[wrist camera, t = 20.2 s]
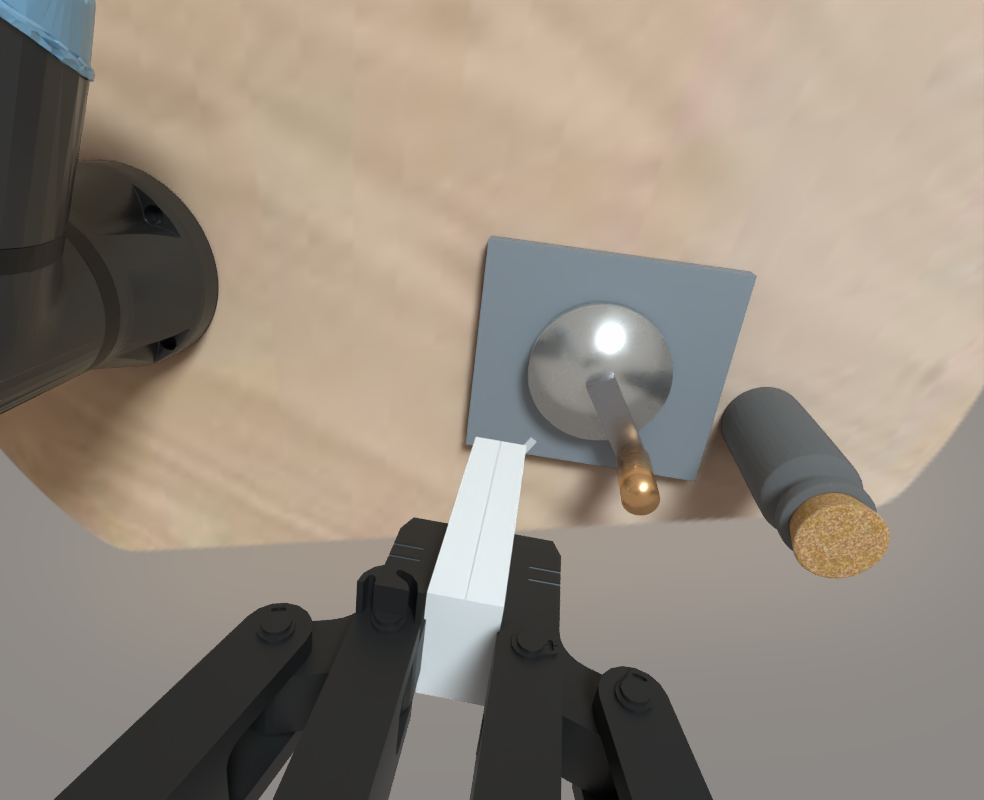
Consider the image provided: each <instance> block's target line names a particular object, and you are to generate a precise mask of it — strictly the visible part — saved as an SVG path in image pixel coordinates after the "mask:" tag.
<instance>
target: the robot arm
mask: <svg viewBox="0 0 984 800" xmlns="http://www.w3.org/2000/svg"><path fill="white" fill-rule="evenodd" d="M95 10H96V5H95V0H0V414H2V413H4V412H6V411H8V410H10V409H12V408H14V407H16V406H18V405H20V404H22V403H24V402H26V401H28V400H30V399H32V398H34V397H36V396H38V395H40V394H42V393H44V392H46V391H48V390H50V389H52V388H54V387H56V386H58V385H60V384H62V383H64V382H66V381H68V380H70V379H72V378H74V377H76V376H78V375H80V374H82V373H84V372H86V371H88V370H90V369H103V368H118V367H134V366H144V365H150V364H153V363H157V362H160V361H163V360H165V359H168V358H170V357H172V356H173V355H175V354H177V353H179V352H181V351H183V350H184V349H186V348H188V347H189V346H191V345H192V344H193V343H195V342H196V341H197V340H198V339H199V338H200V337H201V335H202V334H203V333H204V332H205V330H206V329H207V327H208V325H209V323H210V321H211V319H212V317H213V314H214V311H215V307H216V303H217V296H218V277H217V270H216V264H215V260H214V256H213V253H212V250H211V247H210V245H209V242H208V240H207V238H206V236H205V234H204V232H203V230H202V228H201V226H200V225H199V223H198V221H197V220H196V218H195V217H194V215H193V214H192V213H191V211H190V210H189V209H188V208H187V206H186V205H185V204H184V203H183V202H182V201H181V200H180V199H179V198H178V197H177V196H176V195H175V194H174V193H173V192H172V191H171V190H170V189H169V188H168V187H166V186H165V185H164V184H162V183H161V182H160V181H158V180H157V179H155V178H154V177H152V176H150V175H149V174H147V173H145V172H143V171H141V170H139V169H137V168H134V167H132V166H129V165H126V164H122V163H119V162H114V161H106V160H86V161H78V155H79V149H80V142H81V136H82V129H83V122H84V116H85V109H86V103H87V96H88V90H89V83H90V81H92V82H94V77H95V74H94V70H93V68H92V67H91V55H92V44H93V33H94V21H95ZM526 446H527V445H521V444H515V443H509V442H503V441H498V440H492V439H486V438H480V437H476V438H475V441H474V444H473V447H472V450H471V454H470V457H469V460H468V463H467V466H466V470H465V473H464V476H463V479H462V482H461V486H460V489H459V492H458V495H457V498H456V501H455V505H454V508H453V511H452V514H451V517H450V521H449V524H447V523H442V522H436V521H431V520H425V519H420V518H413V519H411V520H410V521H409V522H408V523H406V524H405V525H404V526H403V527H401V528H400V531H399V533H398V535H397V538H396V540H395V542H394V545H393V547H392V549H391V551H390V555H389V557H388V558H387V561H386V563H385V565H382V566H377V567H374V568H372V569H370V570H368V571H366V572H365V573H363V575H362V576H361V577H360V578H359V580H358V581H357V597H356V613H354V614H352V615H349V616H347V617H344V618H339V619H333V620H322V621H312V619H311V617H310V615H309V614H308V612H307V611H306V610H304V609H302V608H301V607H300V606H297V605H293V604H288V603H277V604H271V605H267V606H265V607H262V608H259V609H257V610H256V611H254V612H253V613H252V614H250V615H249V616H247V617H246V618H245V619H244V620H243V621H242V622H241V623H240V624H239V625H238V626H237V627H236V628H235V629H234V630H233V631H232V632H231V633H229V635H227V636H226V637H225V638H224V639H223V640H222V641H221V642H220V643H219V644H218V645H217V646H216V647H215V648H214V649H213V650H211V651H210V653H208V654H207V655H206V656H205V657H204V658H203V659H202V660H201V661H200V662H199V663H198V664H197V665H196V666H195V667H194V668H192V669H191V670H190V671H189V672H188V673H187V674H186V675H185V676H184V677H183V678H182V679H181V680H180V681H179V682H178V683H177V684H176V685H175V686H173V688H171V689H170V690H169V691H168V692H167V693H166V694H165V695H164V696H163V697H162V698H161V699H160V700H159V701H158V702H156V704H154V705H153V706H152V707H151V708H150V709H149V710H148V711H147V712H146V713H145V714H144V715H143V716H142V717H141V718H140V719H139V720H137V721H136V722H135V723H134V724H133V725H132V726H131V727H130V728H129V729H128V730H127V731H126V732H125V733H124V734H123V735H122V736H121V737H120V738H118V739H117V740H116V741H115V742H114V743H113V744H112V745H111V746H110V747H109V748H108V749H107V750H106V751H105V752H104V753H103V754H101V755H100V756H99V757H98V758H97V759H96V760H95V761H94V762H93V763H92V764H91V765H90V766H89V767H88V768H87V769H86V770H85V771H84V772H82V773H81V774H80V775H79V776H78V777H77V778H76V779H75V780H74V781H73V782H72V783H71V784H70V785H69V786H68V787H67V788H66V789H64V790H63V791H62V792H61V793H60V794H59V795H58V796H57V797H56V798H55V799H54V800H258V799H259V798H260V797H261V795H262V794H263V793H264V791H265V790H266V789H267V787H268V786H269V784H270V783H271V782H272V780H273V779H274V778H275V776H276V775H277V774H278V772H279V771H280V770H281V768H282V767H283V766H284V764H285V763H286V761H287V760H288V759H289V757H290V756H291V755H292V753H293V752H294V753H293V755H292V757H291V760H290V762H289V764H288V766H287V769H286V771H285V773H284V776H283V778H282V780H281V782H280V784H279V787H278V789H277V791H276V793H275V796H274V798H273V800H388V798H389V794H390V791H391V787H392V783H393V780H394V776H395V772H396V768H397V765H398V761H399V757H400V754H401V750H402V746H403V743H404V739H405V735H406V732H407V728H408V724H409V721H410V717H411V708H412V699H413V696H414V692H415V688H416V692H417V693H422V694H427V695H432V696H437V697H442V698H447V699H452V700H457V701H462V702H467V703H473V704H477V705H483V706H485V707H484V714H483V719H482V724H481V730H480V735H479V741H478V746H477V752H476V755H477V756H476V762H475V769H474V775H473V782H472V788H471V795H470V800H561V777H562V778H564V779H566V780H567V781H569V782H571V783H572V789H573V793H574V797H575V800H713V799H712V796H711V794H710V792H709V790H708V788H707V785H706V783H705V781H704V778H703V776H702V774H701V771H700V769H699V767H698V764H697V762H696V760H695V758H694V755H693V753H692V751H691V748H690V746H689V744H688V742H687V739H686V737H685V735H684V733H683V730H682V728H681V726H680V723H679V721H678V719H677V716H676V714H675V712H674V710H673V707H672V705H671V703H670V700H669V698H668V696H667V694H666V693H665V691H664V690H663V688H662V686H661V685H660V684H659V683H658V682H657V681H656V680H655V679H653V678H652V677H651V676H650V675H649V674H647V673H644V672H642V671H640V670H638V669H636V668H631V667H624V666H621V667H616V668H611V669H610V670H608V671H607V672H605V673H604V674H603V675H602V674H600V673H598V672H595V671H593V670H591V669H589V668H587V667H586V666H584V665H582V664H581V663H579V662H577V661H576V660H575V659H574V658H573V657H572V656H570V655H569V653H568V652H567V651H566V650H565V648H564V646H563V644H562V642H561V639H560V633H559V620H560V570H561V555H560V554H559V552H558V550H557V549H556V546H555V544H554V543H553V541H548V540H543V539H537V538H532V537H526V536H521V535H515V534H514V532H515V525H516V518H517V511H518V503H519V496H520V489H521V482H522V475H523V468H524V460H525V453H526ZM416 685H417V687H416Z"/></svg>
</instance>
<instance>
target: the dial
mask: <svg viewBox="0 0 984 800" xmlns="http://www.w3.org/2000/svg"><path fill="white" fill-rule="evenodd" d="M672 380H673V364H672V358H671V355H670V351H669V349H668V347H667V344H666V342H665V340H664V338H663V336H662V334H661V333H660V331H659V329H658V328H657V327H656V326H655V324H654V323H653V322H652V321H651V320H650V319H649V318H647V317H646V316H645V315H644V314H642V313H641V312H639V311H637V310H636V309H633V308H631V307H629V306H626V305H623V304H620V303H615V302H609V301H594V302H587V303H582V304H579V305H576V306H573V307H571V308H569V309H567V310H565V311H563V312H561V313H560V314H558V315H557V316H555V317H554V318H553V319H552V320H551V321H550V322H549V323H548V324H547V325H546V326H545V327H544V328H543V329H542V331H541V332H540V334H539V335H538V337H537V339H536V341H535V343H534V345H533V348H532V351H531V356H530V361H529V366H528V384H529V389H530V393H531V396H532V398H533V401H534V403H535V405H536V407H537V408H538V410H539V411H540V412H541V414H542V415H543V416H544V417H545V418H546V419H547V420H548V421H549V422H550V423H551V424H552V425H554V426H555V427H556V428H558V429H559V430H561V431H563V432H565V433H567V434H569V435H572V436H575V437H578V438H582V439H587V440H609V442H610V444H611V446H612V449H613V451H614V453H615V456H616V465H617V472H618V479H619V487H620V494H621V501H622V505H623V507H624V508H625V509H626V510H627V511H628V512H630V513H632V514H634V515H646V514H649V513H651V512H653V511H654V510H655V509H656V508H657V507H658V505H659V502H660V496H659V492H658V488H657V484H656V480H655V475H654V471H653V467H652V463H651V459H650V456H649V454H648V452H647V451H646V450H645V448H644V445H643V443H642V441H641V438H640V436H639V433H638V431H637V430H639V429H640V428H642V427H643V426H645V425H646V424H647V423H649V422H650V421H651V420H652V419H653V418H654V417H655V416H656V415H657V413H658V412H659V411H660V410H661V408H662V407H663V405H664V404H665V402H666V400H667V398H668V395H669V393H670V389H671V386H672Z"/></svg>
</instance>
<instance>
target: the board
mask: <svg viewBox="0 0 984 800" xmlns="http://www.w3.org/2000/svg"><path fill="white" fill-rule="evenodd" d="M755 280H756V275H754V274H753V273H752V272H749V271H742V270H735V269H728V268H721V267H713V266H706V265H699V264H692V263H685V262H677V261H670V260H663V259H656V258H649V257H641V256H634V255H627V254H620V253H613V252H605V251H598V250H591V249H584V248H577V247H569V246H562V245H555V244H548V243H541V242H533V241H526V240H519V239H512V238H505V237H498V236H490V238H489V239H488V248H487V257H486V266H485V275H484V284H483V293H482V302H481V311H480V320H479V329H478V338H477V347H476V356H475V365H474V374H473V383H472V392H471V401H470V410H469V419H468V428H467V437H466V444H467V445H473V444H474V441H475V438H476V437H480V438H486V439H492V440H498V441H503V442H509V443H515V444H521V445H527V446H526V453H525V454H529V455H535V456H541V457H547V458H554V459H560V460H566V461H572V462H578V463H584V464H591V465H597V466H603V467H609V468H615V469H617V465H616V456H615V453H614V451H613V449H612V446H611V444H610V442H609V440H587V439H582V438H578V437H575V436H572V435H569V434H567V433H565V432H563V431H561V430H559V429H558V428H556V427H555V426H554V425H552V424H551V423H550V422H549V421H548V420H547V419H546V418H545V417H544V416H543V415H542V414H541V412H540V411H539V410H538V408H537V407H536V405H535V403H534V401H533V398H532V396H531V393H530V389H529V384H528V366H529V361H530V356H531V351H532V348H533V345H534V343H535V341H536V339H537V337H538V335H539V334H540V332H541V331H542V329H543V328H544V327H545V326H546V325H547V324H548V323H549V322H550V321H551V320H552V319H553V318H554V317H555V316H557V315H558V314H560V313H561V312H563V311H565V310H567V309H569V308H571V307H573V306H576V305H579V304H582V303H587V302H594V301H609V302H615V303H620V304H623V305H626V306H629V307H631V308H633V309H636V310H637V311H639V312H641V313H642V314H644V315H645V316H646V317H647V318H649V319H650V320H651V321H652V322H653V323H654V324H655V326H656V327H657V328H658V329H659V331H660V333H661V334H662V336H663V338H664V340H665V342H666V344H667V347H668V349H669V351H670V355H671V358H672V364H673V380H672V386H671V389H670V393H669V395H668V398H667V400H666V402H665V404H664V405H663V407H662V408H661V410H660V411H659V412H658V413H657V415H656V416H655V417H654V418H653V419H652V420H651V421H650V422H649V423H647V424H646V425H645V426H643V427H642V428H640V429H639V430H637V431H638V433H639V436H640V438H641V441H642V443H643V445H644V448H645V450H646V451H647V452H648V454H649V456H650V459H651V463H652V467H653V471H654V475H659V476H665V477H671V478H677V479H683V480H690V481H695V480H696V476H697V473H698V470H699V466H700V463H701V460H702V456H703V453H704V450H705V446H706V443H707V440H708V436H709V433H710V430H711V426H712V423H713V420H714V416H715V413H716V410H717V406H718V403H719V400H720V396H721V393H722V390H723V386H724V383H725V380H726V376H727V373H728V370H729V366H730V363H731V360H732V356H733V353H734V350H735V346H736V343H737V340H738V336H739V333H740V330H741V326H742V323H743V320H744V316H745V313H746V310H747V306H748V303H749V300H750V296H751V293H752V290H753V286H754V283H755Z"/></svg>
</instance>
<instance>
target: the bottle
mask: <svg viewBox="0 0 984 800" xmlns="http://www.w3.org/2000/svg"><path fill="white" fill-rule="evenodd" d="M722 432H723V436H724V438H725V441H726V443H727V445H728V447H729V449H730V451H731V453H732V455H733V457H734V459H735V461H736V463H737V465H738V467H739V469H740V471H741V473H742V475H743V477H744V479H745V482H746V484H747V486H748V488H749V490H750V492H751V494H752V496H753V498H754V500H755V502H756V503H757V505H758V507H759V509H760V511H761V513H762V514H763V516H764V517H765V519H766V520H767V521H768V522H769V523H770V524H771V525H772V526H773V527H774V528H776V529H777V530H778V533H779V534H780V536H781V538H782V540H783V541H784V543H785V544H786V545H787V546H788V547H789V548H790V549H791V550H792V551H793V552H794V555H795V557H796V559H797V560H798V562H799V563H800V564H801V565H802V566H803V567H804V568H805V569H806V570H808V571H809V572H811V573H813V574H815V575H819V576H822V577H827V578H845V577H850V576H854V575H857V574H859V573H862V572H864V571H866V570H868V569H870V568H871V567H872V566H874V565H875V564H876V563H877V562H878V561H879V560H880V559H881V558H882V557H883V555H884V554H885V552H886V550H887V548H888V544H889V530H888V527H887V525H886V523H885V521H884V520H883V519H882V517H880V515H878V514H877V510H876V507H875V504H874V502H873V501H872V499H871V498H870V496H869V495H868V494H867V493H866V492H865V490H864V489H863V485H862V480H861V478H860V476H859V474H858V472H857V471H856V469H855V468H854V467H853V465H852V464H851V463H850V462H849V461H848V459H847V458H846V457H845V456H844V454H843V453H842V452H841V451H840V450H839V449H838V447H837V446H836V445H835V444H834V443H833V441H832V440H831V439H830V438H829V437H828V436H827V434H826V433H825V432H824V431H823V430H822V429H821V427H820V426H819V425H818V424H817V423H816V422H815V420H814V419H813V418H812V417H811V416H810V415H809V414H808V412H807V411H806V410H805V409H804V408H803V407H802V406H801V404H800V403H799V402H798V401H797V400H796V399H795V398H794V397H793V396H792V395H790V394H789V393H787V392H785V391H783V390H780V389H777V388H771V387H761V388H755V389H752V390H749V391H747V392H744V393H742V394H741V395H739V396H738V397H737V398H735V399H734V400H733V401H732V402H731V403H730V404H729V406H728V407H727V409H726V411H725V413H724V415H723V419H722Z"/></svg>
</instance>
